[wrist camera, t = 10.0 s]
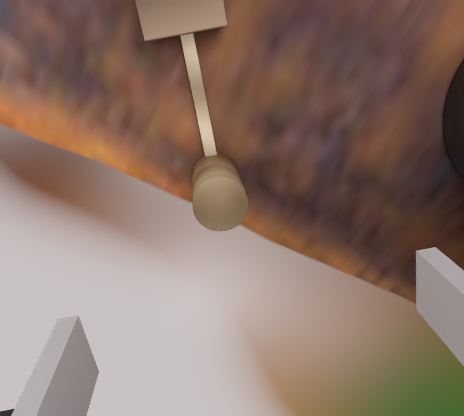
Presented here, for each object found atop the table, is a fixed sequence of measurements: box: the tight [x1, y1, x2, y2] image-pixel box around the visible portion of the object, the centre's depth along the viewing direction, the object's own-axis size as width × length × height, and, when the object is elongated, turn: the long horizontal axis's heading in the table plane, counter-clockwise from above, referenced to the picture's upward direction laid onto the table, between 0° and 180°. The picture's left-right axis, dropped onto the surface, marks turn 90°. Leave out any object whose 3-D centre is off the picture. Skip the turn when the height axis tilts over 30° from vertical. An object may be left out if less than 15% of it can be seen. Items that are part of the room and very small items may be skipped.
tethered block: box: [135, 0, 249, 231], centre depth 28 cm, size 17×5×7 cm, turn 10°
